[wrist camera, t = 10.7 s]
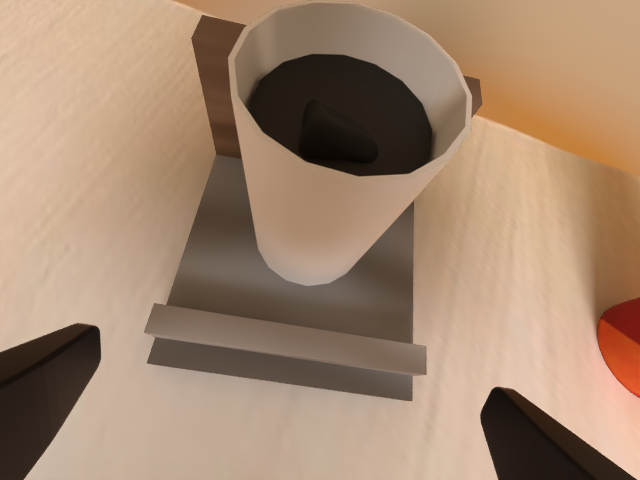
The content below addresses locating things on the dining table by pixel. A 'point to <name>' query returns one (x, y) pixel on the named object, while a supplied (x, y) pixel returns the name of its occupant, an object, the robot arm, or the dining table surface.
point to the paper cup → (622, 343)
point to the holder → (281, 281)
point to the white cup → (339, 129)
